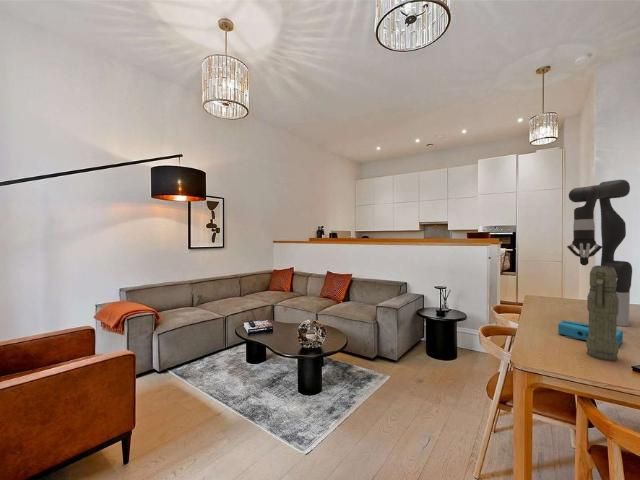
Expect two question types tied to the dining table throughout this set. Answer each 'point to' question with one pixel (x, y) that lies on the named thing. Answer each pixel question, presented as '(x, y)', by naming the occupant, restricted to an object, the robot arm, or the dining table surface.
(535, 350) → the dining table surface
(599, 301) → the olive green pouch
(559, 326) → the block
